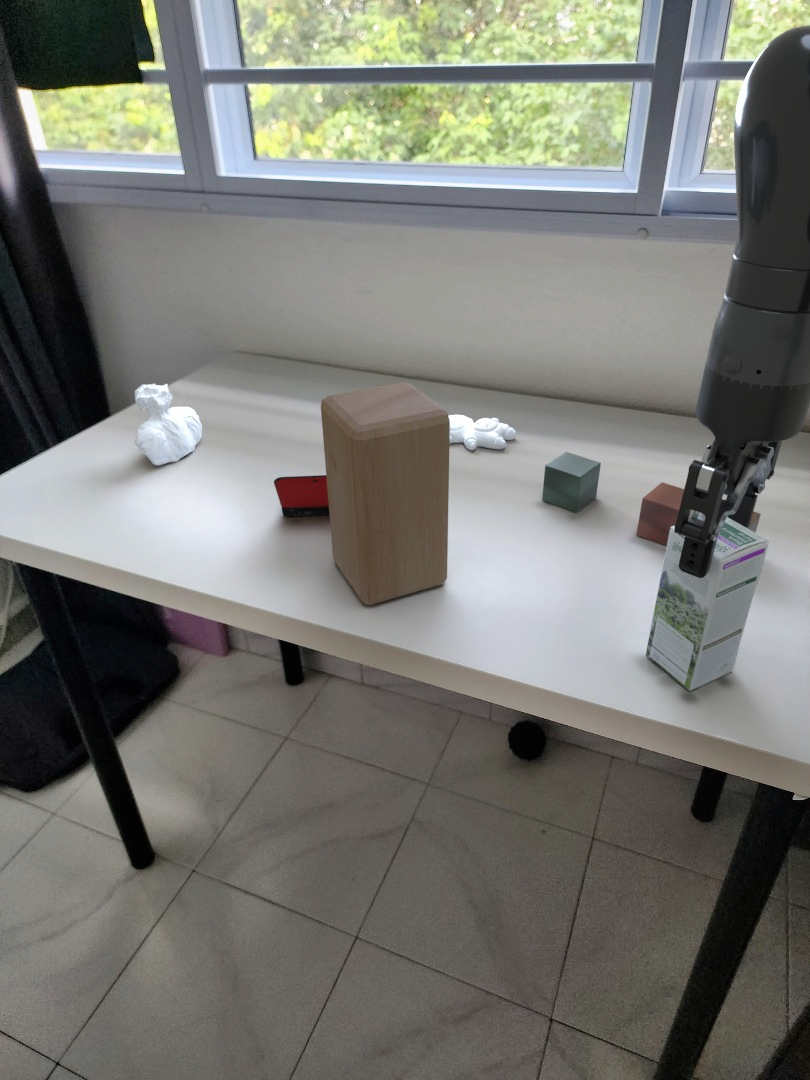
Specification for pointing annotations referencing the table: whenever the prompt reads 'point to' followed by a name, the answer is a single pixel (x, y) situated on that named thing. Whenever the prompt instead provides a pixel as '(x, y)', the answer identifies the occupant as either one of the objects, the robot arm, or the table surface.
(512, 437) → the astronaut figurine
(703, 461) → the robot arm
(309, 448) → the table surface
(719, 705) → the table surface
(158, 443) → the bust
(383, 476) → the wooden block
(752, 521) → the block line
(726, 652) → the syrup box
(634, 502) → the table surface
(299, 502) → the handheld console
